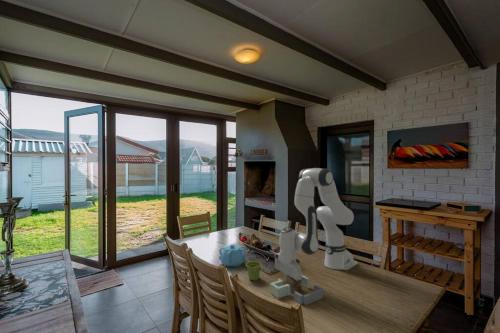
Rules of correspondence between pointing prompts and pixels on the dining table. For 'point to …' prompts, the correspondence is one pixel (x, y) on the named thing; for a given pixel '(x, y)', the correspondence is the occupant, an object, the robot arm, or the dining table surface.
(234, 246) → the decorative pot
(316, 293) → the dock
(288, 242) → the robot arm
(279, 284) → the pale grey notched piece
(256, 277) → the plant pot
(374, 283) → the dining table surface
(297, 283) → the block
